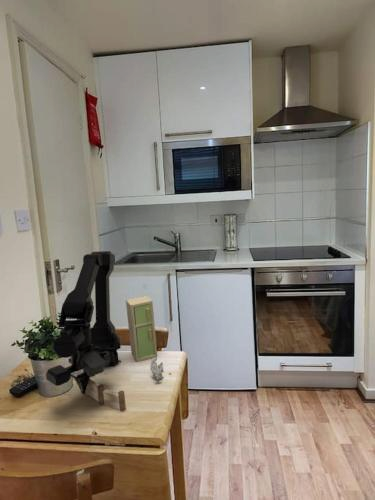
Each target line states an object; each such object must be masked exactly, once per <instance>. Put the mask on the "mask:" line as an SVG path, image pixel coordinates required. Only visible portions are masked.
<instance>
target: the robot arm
mask: <svg viewBox="0 0 375 500" xmlns="http://www.w3.org/2000/svg"><path fill="white" fill-rule="evenodd" d="M115 264H116V255H115V254H114V253H112V252H111V250H103V251H101V250H100V251H92V252H91V253H87V254H85V255H83V258H82V266H81V268H80V271H79V272H80V273H79V274H78V278H77V281H76V284H75V287H74V289H73V290H71V291H70V292H69V293H68V294H67V296H66V298H65V299H64V301H63V303H62V306H61V310H60V315H59V316H60V317H59V322H58V328H63V329H61V330H60V332H59V336H58V337H57V338H56V339H55V341H54V343H53V349H54V351H55V353H56V355H57V356H59V357H61V358H65V359H66V358H68V363H70V365H69V366H67V367H64V366H62V365H61V364H58V365H56V366H53V367H51V368H48V370H47V371H46V373H45V377H46V380H47V381H48V382H50V383H51V384H53V385H55V386H62V385H64V384H66V383H68V382H69V381H70V380H71V378H73V379H74V381H75V382H76V385H77V386H78V387H79V390H80V393H81V394H82V395H86V393H85V391H86V388H87V385H88V382H89V379H91V378H93V377H95V376H97V375H99V374H102V373H103V372H104V370H105V368H109V367H110V368H114V367H116V366H117V365H119V363H122V360H120V359H119V354H118V353H119V352H118V350H119V349H121V348H122V347H121V346H122V345H121V338H120V336H119V335H118V333H117V332H116V326H114V324H113V322H112V320H111V307H110V306H111V305H110V304H111V301H110V300H111V299H110V296H111V295H110V276H111V275H112V273H113V272H114V269H115V268H114V267H115ZM94 287H95V288H94ZM93 289H94V292H95V293H94V297H95V298H94V300H93V299H92V293H93ZM93 301H94V302H93ZM94 303H95V306H94ZM94 309H95V322H94V324H93V326H91V322H92V319H93V314H94Z"/></svg>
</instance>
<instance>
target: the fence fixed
mask: <svg viewBox="0 0 375 500" xmlns="http://www.w3.org/2000/svg"><path fill="white" fill-rule="evenodd" d="M98 395H99V402H98V403H99V405H101V406H102V405H104V406H106V407H109V408H113V409H115V410H118V411H120V412H125V411H126V410H127V407H126V398H125V397H126V396H125V391H124V390H119V391H118V392H117V391H114V390H110V389H107V388H105V385H104V384H99V386H98Z"/></svg>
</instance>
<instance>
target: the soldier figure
mask: <svg viewBox="0 0 375 500" xmlns="http://www.w3.org/2000/svg"><path fill="white" fill-rule="evenodd" d="M157 360H158V357H153V358H151V362H150V371H151V373H152V374H153V377H152V379H154V380H155V381H157V383H159V382H160V381H161V380H163V379H164V378H165V376H163V373H162V372H163V370H164V367H163V366H162V365H163V364H164V362H163V361H161V362H160V363H159V364H158V362H157ZM168 375H169V376H171V375H172V372H168Z"/></svg>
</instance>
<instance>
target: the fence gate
mask: <svg viewBox="0 0 375 500" xmlns="http://www.w3.org/2000/svg"><path fill="white" fill-rule="evenodd" d="M99 385H100V384H99V383H98V382H96V381H94V380H92V379H91V378H90V379H89V382H88V385H87V388H86V391H85V395H86V394H87V396H89V397H91V398H92V399H94V400H95V401H97V402H98V403H99V395H98V386H99Z"/></svg>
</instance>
